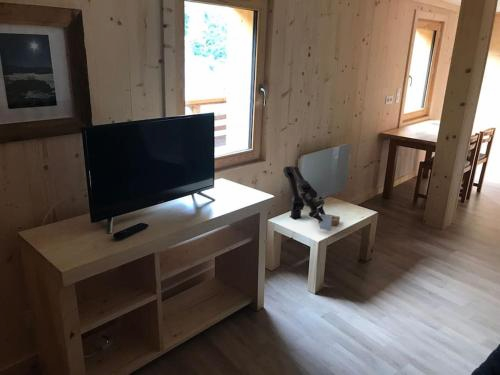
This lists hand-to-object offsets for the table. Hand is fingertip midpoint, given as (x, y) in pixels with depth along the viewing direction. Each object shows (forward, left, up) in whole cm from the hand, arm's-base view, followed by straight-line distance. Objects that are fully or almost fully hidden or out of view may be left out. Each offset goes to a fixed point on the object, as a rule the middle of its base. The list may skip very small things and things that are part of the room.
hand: (324, 218), depth 277 cm
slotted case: (+9, +6, -7) cm, 13 cm away
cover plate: (+1, -1, -7) cm, 8 cm away
